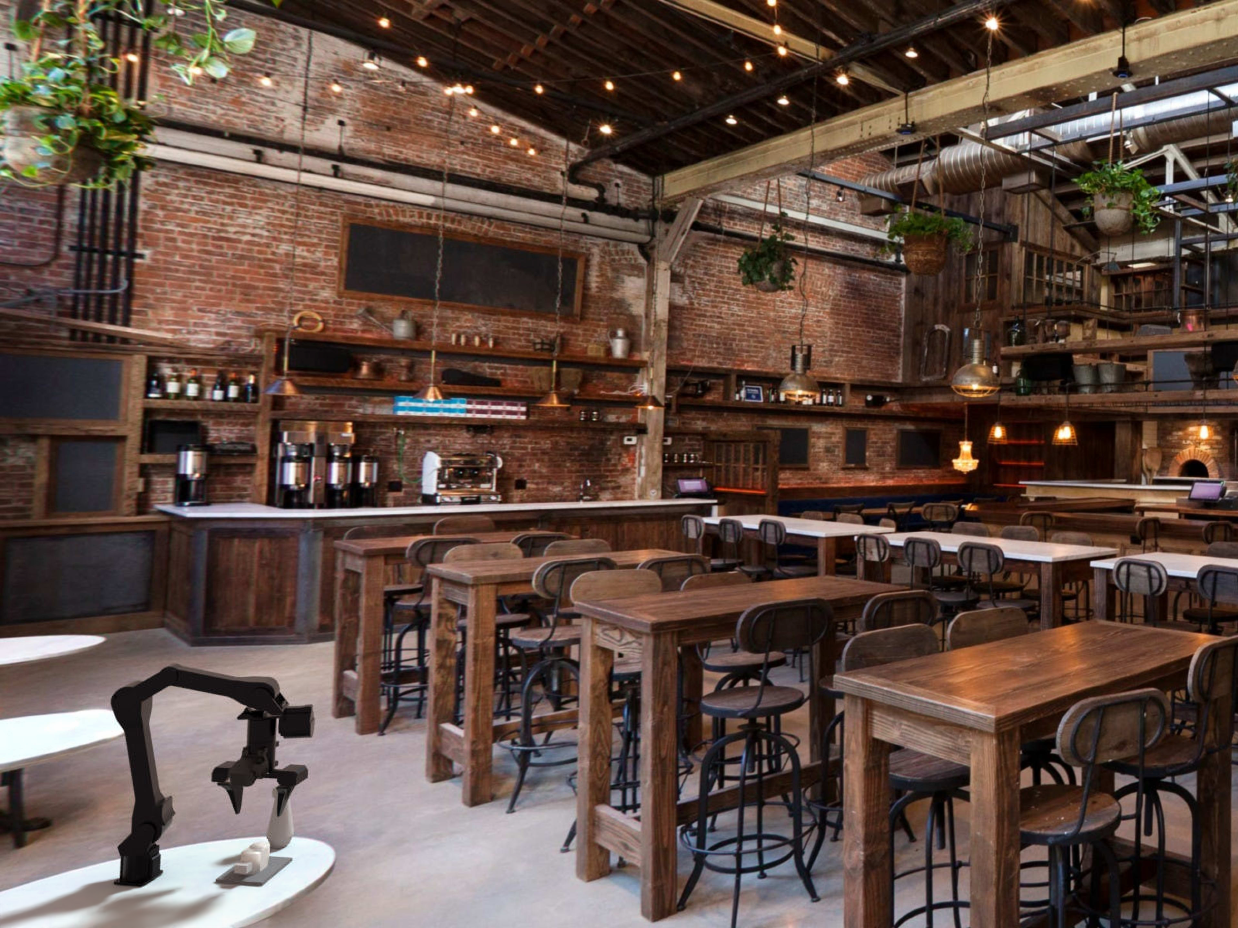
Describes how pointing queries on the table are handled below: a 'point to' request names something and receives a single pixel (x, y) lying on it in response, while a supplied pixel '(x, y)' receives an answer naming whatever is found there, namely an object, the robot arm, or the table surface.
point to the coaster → (257, 879)
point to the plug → (253, 859)
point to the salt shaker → (280, 824)
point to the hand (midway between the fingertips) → (258, 814)
